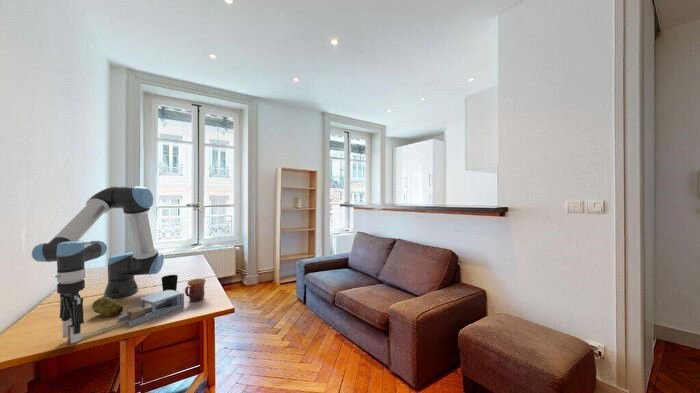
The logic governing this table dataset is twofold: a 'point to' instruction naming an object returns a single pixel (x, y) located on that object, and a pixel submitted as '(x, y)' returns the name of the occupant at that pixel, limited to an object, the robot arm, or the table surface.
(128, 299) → the table surface
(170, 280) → the cup
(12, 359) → the table surface
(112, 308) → the dirty green tuber
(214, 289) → the table surface
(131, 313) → the wooden mallet
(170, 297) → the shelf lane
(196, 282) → the mug
